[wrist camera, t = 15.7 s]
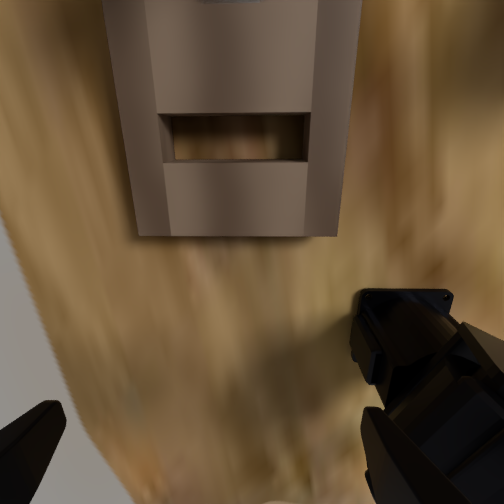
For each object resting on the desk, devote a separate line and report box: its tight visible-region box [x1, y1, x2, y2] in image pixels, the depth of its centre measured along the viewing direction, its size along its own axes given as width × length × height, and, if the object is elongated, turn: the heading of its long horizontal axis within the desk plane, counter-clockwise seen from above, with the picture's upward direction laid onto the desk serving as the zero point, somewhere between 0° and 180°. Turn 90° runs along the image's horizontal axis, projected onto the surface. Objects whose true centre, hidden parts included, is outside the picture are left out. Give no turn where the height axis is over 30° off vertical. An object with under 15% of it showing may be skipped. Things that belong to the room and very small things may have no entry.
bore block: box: [102, 0, 362, 237], centre depth 15 cm, size 12×22×2 cm, turn 0°
